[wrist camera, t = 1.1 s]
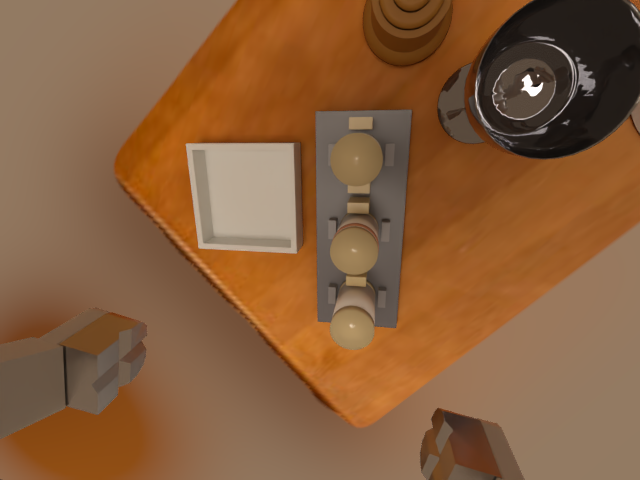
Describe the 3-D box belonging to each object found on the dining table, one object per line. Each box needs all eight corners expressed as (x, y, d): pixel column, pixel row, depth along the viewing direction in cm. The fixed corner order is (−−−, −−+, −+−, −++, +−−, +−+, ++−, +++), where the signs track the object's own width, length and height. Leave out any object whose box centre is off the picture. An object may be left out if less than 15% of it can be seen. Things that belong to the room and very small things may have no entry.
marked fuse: (379, 209, 34) (379, 229, 27) (378, 247, 35) (377, 276, 28) (339, 208, 34) (329, 227, 27) (339, 246, 36) (329, 273, 29)
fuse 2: (376, 277, 36) (375, 313, 29) (374, 310, 37) (373, 351, 30) (339, 275, 37) (329, 309, 30) (339, 307, 38) (329, 347, 31)
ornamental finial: (448, -38, 28) (450, 59, 30) (359, -18, 30) (367, 74, 32) (473, -101, 21) (473, 35, 23) (352, -69, 22) (363, 56, 24)
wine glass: (414, 110, 32) (442, 92, 18) (480, 35, 29) (574, -57, 15) (475, 165, 32) (548, 190, 18) (545, 96, 30) (693, 62, 16)
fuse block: (410, 110, 32) (415, 107, 28) (395, 321, 39) (397, 344, 35) (318, 112, 33) (309, 109, 29) (319, 314, 40) (312, 335, 36)
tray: (300, 142, 35) (293, 143, 32) (303, 244, 38) (296, 253, 35) (200, 142, 36) (185, 143, 34) (211, 240, 40) (198, 248, 37)
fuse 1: (383, 132, 31) (384, 132, 24) (381, 175, 33) (381, 187, 26) (341, 133, 32) (330, 133, 25) (340, 174, 33) (330, 186, 26)
